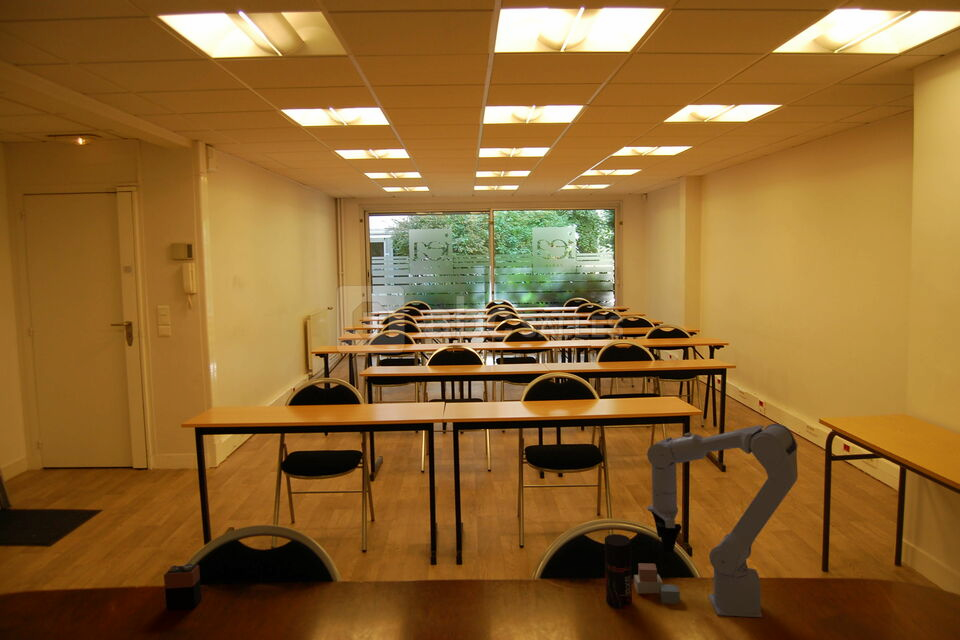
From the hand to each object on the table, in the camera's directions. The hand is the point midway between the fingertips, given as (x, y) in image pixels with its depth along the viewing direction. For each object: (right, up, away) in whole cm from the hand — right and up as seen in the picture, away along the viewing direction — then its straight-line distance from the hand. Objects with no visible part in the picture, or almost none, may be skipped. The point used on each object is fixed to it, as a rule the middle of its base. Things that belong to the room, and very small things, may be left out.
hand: (665, 544), depth 139 cm
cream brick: (-4, -11, -1) cm, 12 cm away
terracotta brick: (-5, -8, -1) cm, 9 cm away
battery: (-118, -15, 0) cm, 119 cm away
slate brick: (-1, -11, -6) cm, 12 cm away
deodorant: (-13, -12, -6) cm, 18 cm away
